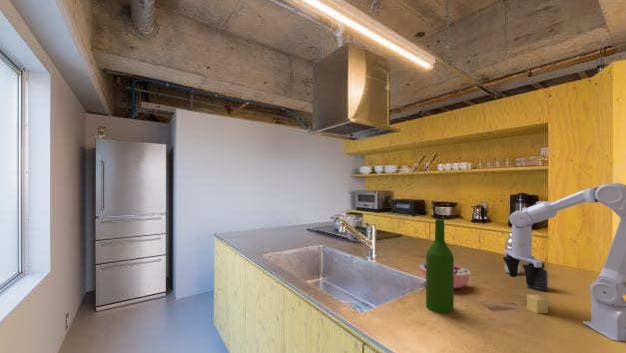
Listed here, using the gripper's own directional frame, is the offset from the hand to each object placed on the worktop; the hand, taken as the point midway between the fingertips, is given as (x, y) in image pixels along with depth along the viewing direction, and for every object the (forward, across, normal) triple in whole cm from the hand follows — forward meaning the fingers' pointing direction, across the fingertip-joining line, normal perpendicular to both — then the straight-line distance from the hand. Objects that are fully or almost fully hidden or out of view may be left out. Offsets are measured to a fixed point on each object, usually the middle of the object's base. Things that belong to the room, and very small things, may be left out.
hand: (521, 280), depth 99 cm
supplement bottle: (+10, +14, -19) cm, 26 cm away
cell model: (+10, +19, +19) cm, 29 cm away
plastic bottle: (+10, +34, -24) cm, 43 cm away
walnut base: (+10, -4, +8) cm, 14 cm away
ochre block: (+10, -5, -2) cm, 11 cm away
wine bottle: (+10, -1, +31) cm, 33 cm away
